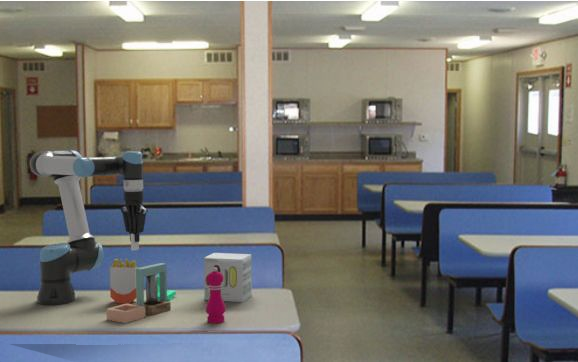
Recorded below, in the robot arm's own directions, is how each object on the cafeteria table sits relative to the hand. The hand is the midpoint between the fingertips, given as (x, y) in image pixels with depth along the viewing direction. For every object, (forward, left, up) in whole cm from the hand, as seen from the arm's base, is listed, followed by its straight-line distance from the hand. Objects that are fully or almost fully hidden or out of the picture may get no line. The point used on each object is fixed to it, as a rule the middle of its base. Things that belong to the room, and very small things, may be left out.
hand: (135, 249), depth 267 cm
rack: (+9, -13, -23) cm, 28 cm away
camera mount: (-2, +16, -24) cm, 29 cm away
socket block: (+9, 0, -23) cm, 25 cm away
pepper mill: (+40, +2, -23) cm, 46 cm away
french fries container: (-11, +5, -23) cm, 26 cm away
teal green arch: (+9, 0, -23) cm, 25 cm away
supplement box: (+21, +33, -24) cm, 45 cm away
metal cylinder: (+9, 0, -23) cm, 25 cm away
